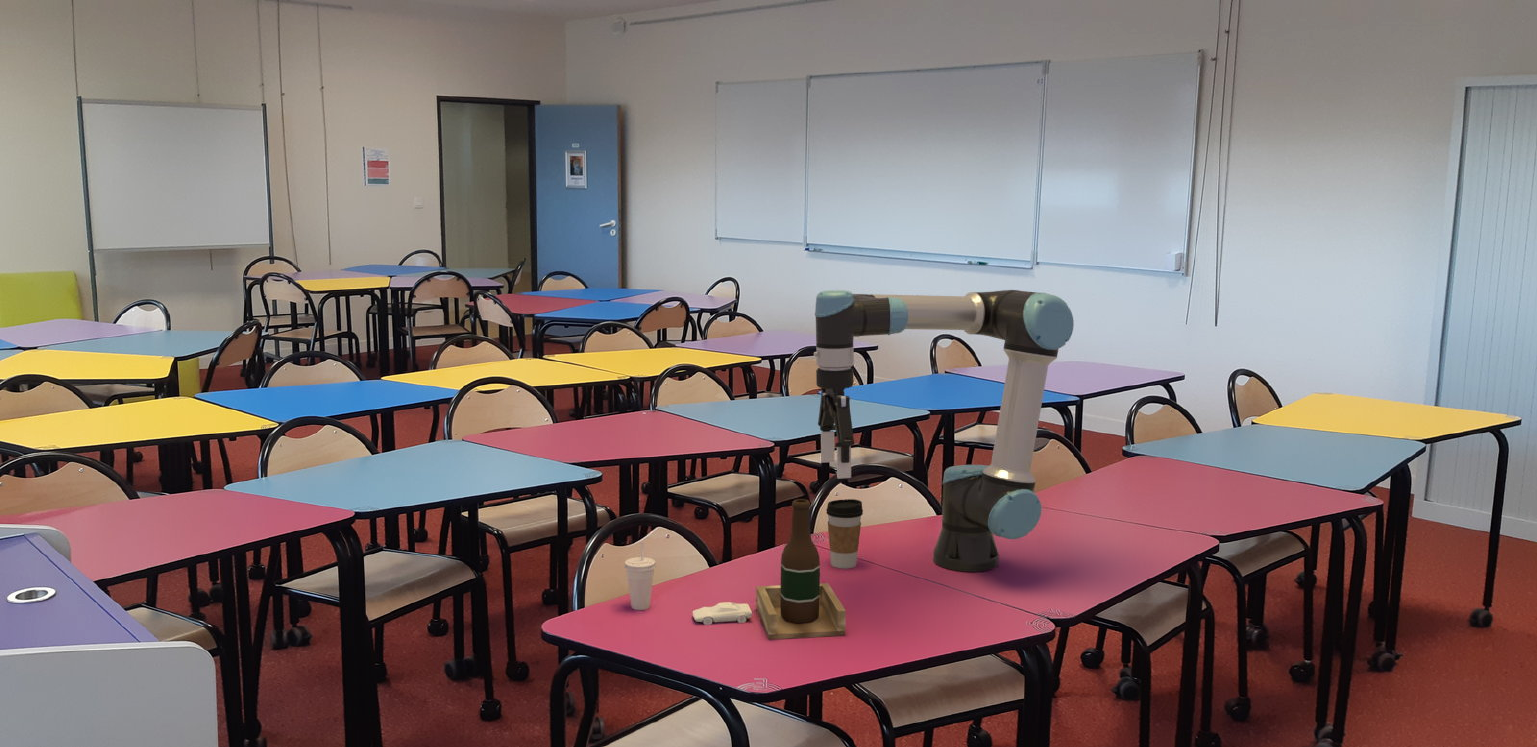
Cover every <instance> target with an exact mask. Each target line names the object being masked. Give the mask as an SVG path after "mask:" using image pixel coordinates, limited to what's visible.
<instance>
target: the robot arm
mask: <svg viewBox="0 0 1537 747" xmlns="http://www.w3.org/2000/svg"><path fill="white" fill-rule="evenodd" d="M815 299H816V300H815V311H814V316H815V339H816V340H815V343H816V345H815V346H816V347H815V348H816V351H814V352H813V357H815V358H816V366H817V367H818V368H817V369H816V373H815V374H816V375H815V377H816V381H815V382H816V386H817V387H818V388H820V390H821V395H820V404H819V414H818V420H817V425H818V427H819V430H820V431H821V432H820V457H821V458H820V461H821V462H820V463H835V461H836V478H837V479H838V480H839V479H851V478H852V446H854V445H855V439H854V431H853V422H852V415H851V408H850V405H851V404H850V401H851V397H850V395H845V389H849V388H852V387H853V386H854V379H855V378H854V369H853V368H852V366H854V364H855V360H854V359H855V357H854V356H855V355H854V349H855V348H854V347H855V346H854V337H858V338H859V337H868V336H869V337H871V336H881V335H882V336H885V335H887V336H890V335H895V334H900V333H902V332H904V331H905V330H934V331H935V330H937V331H938V330H939V331H940V330H941V331H943V330H945V331H947V330H948V331H964V333H966V334H968V335H979V336H984V337H985V336H986V337H990V338H994V339H999V340H1001V341H1003V340H1004V344H1003V351H1004V353H1005V354H1006V356H1007V357H1008V363H1007V368H1006V374H1005V380H1004V385H1003V393H1002V398H1001V403H1000V410H999V416H998V421H997V427H996V433H995V434H996V435H995V440H994V444H993V451H992V455H991V456H992V458H991V463H990V465H986V464H985V465H984V464H960V465H953V466H949V467H947V468H946V469H945V470H944V471H943V480H942V511H941V512H942V513H941V514H942V515H941V516H942V518H941V521H942V522H941V530H940V532H939V536H938V538H937V540H936V542H935V546H934V549H933V557H932V558H933V559H932V560H933V562H934V563H935V564H936V565H937V566H940V567H941V568H945V569H948V570H952V571H959V572H968V573H969V572H971V573H973V572H985V571H986V572H987V571H990V570H993V569H995V568H997V567H998V566H999V560H1000V558H999V557H1000V555H999V551H998V547H997V543H996V540H995V537H994V535H995V536H997V537H999V538H1004V539H1007V540H1018V539H1021V538H1023V537H1026V536H1028V534H1029V533H1030V532H1032V531H1033V530H1034V529H1035V528H1036V527H1037V525H1038V524H1039V521H1040V518H1041V515H1042V502H1041V501H1040V500H1039V498H1040V497H1039V496H1038V495H1037V494H1036V493H1035V487H1036V481H1037V480H1036V478H1035V477H1034V475H1033V474H1032V472H1031V468H1032V462H1033V456H1034V450H1035V444H1036V438H1037V433H1038V427H1039V422H1040V421H1039V420H1040V415H1041V411H1042V405H1043V404H1042V403H1043V399H1044V393H1045V387H1046V381H1047V376H1048V370H1049V365H1050V364H1051V363H1052V362H1054V361H1056V360H1057V359H1058V353H1059V350H1060V348H1062V347H1064V346H1065V345H1066V343H1067V342H1069V340H1071V337H1072V335H1073V330H1074V324H1075V323H1074V322H1075V321H1074V316H1073V313H1072V310H1071V308H1070V307H1069V305H1068V303H1067V302H1066V301H1065V300H1063V299H1062V298H1061V297H1059V296H1057V295H1054V294H1050V293H1046V292H1037V291H1036V292H1035V291H1026V290H1018V289H1004V290H995V291H977V292H976V291H971V292H968V293H966V294H965V295H964V296H963V295H962V296H961V295H960V296H959V295H955V296H954V295H923V294H922V295H918V294H915V295H914V294H875V293H873V294H871V293H870V294H867V293H852V291H850V290H841V289H840V290H839V289H838V290H836V289H835V290H834V289H833V290H822V291H819V292H818V293H817V295H816V296H815ZM835 433H836V439H837V442H835ZM835 448H836V460H835Z"/></svg>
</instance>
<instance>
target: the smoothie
mask: <svg viewBox="0 0 1537 747" xmlns="http://www.w3.org/2000/svg"><path fill="white" fill-rule="evenodd" d="M656 564H657V563H656V560H655V559H653V558H651V557H645V555H644V540H642V539H641V540H640V557H639V556H636V557H632V558H628V559H626V560H625V561H624V568H625V569H626V577H627V582H628V591H629V597H630V598H629V599H630V606H631V609H633V610H636V611H643V610H647V609H649V608H650V607H651V596H652V588H653V580H654V572H655V570H654V569H655V568H656V567H657V566H656Z"/></svg>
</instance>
